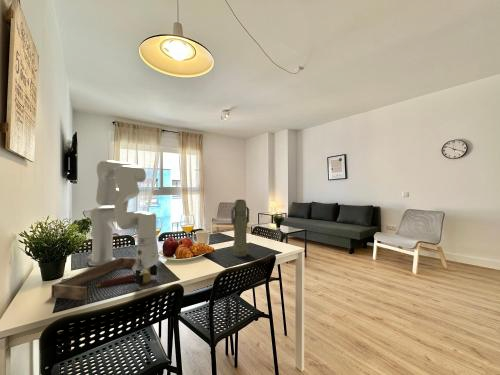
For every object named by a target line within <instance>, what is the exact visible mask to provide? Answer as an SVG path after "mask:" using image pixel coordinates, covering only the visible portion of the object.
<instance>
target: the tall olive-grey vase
mask: <svg viewBox="0 0 500 375" xmlns="http://www.w3.org/2000/svg"><path fill="white" fill-rule="evenodd" d="M230 210H231V213H230V216H231V217H230V218H231V219H230V221H231V222H230V223H231V224H232V225H233V226H232V227H233V232H234V233H233V244H232V246H233V248H232V250H233V256H234V257H238V258H241V257H242V258H243V257H246V256H248V243H247V230H248V229H247V228H248V224H249V222H250V208H249V207H248V206H247V203H246V200H245V199H236V200H235V201H234V206H233V207H231V209H230Z"/></svg>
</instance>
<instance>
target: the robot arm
mask: <svg viewBox="0 0 500 375" xmlns="http://www.w3.org/2000/svg"><path fill="white" fill-rule="evenodd" d="M96 174H97V179H98V182H97V183H98V184H97V190H96V198H95V201H96V203H97V204H98V205H99V206H97V207H94V208H93V209H92V210H91V211H90V213H89V215H90V217H89V218H90V221H91V230H92V231H91V232H92V234H91V236H92V237H91V238H92V248H91V253H90V254H89V255H87V259H90V261H88V266H92V267H98V266H100V265H103V264H105V263H107V262H110V261H112V260H115V259H117V258H116V257H114V256H113V240H114V239H113V229H112V227H111V226H110V225H109V224H110V223H116V224H117V227H118V228H119V229H121V230H132V229H137V247H136V253H135V258H136V263H135V264H134V266H133V267H131V269H132V271H133V272H132V273H133V274H135V275H136V279H135V284H136V285H141V286H142V285H144V283H143V275H142V274H143V271H144V269H148V268H149V273H150V276H157V275H158V265H159V264H158V263H159V259H160V254H159V248H158V247H159V246H158V241H157V214H156V213H155V212H149V211H145V210H141V211H139V210H138V211H128V207H129V200H131V199H135V198H136V197H137V196H138V195H140V188H139V185H138V183H143V182H145V181H146V179H147V172H146V170H145V169H144V168H143V167H142V166H140V165H138V164H135V163H133V162H127V161H118V160H100V161H99V162H98V163H97V166H96ZM139 269H141V271H139Z"/></svg>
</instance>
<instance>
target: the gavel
mask: <svg viewBox="0 0 500 375" xmlns="http://www.w3.org/2000/svg"><path fill="white" fill-rule="evenodd" d="M139 271H141V269H139ZM142 275H143V284H146V283H149V282H150V280H151V279H152V278H151V276H152V275H150V268H148V269H144V271H143V274H142ZM131 281H136V275H135V274H134V273H133V274H130V275H125V276H121V277H116V278H112V279H107V280H103V281H101V282H99V283H98V284H95V288H98V287H99V288H105V287H111V286H115V285H118V284H119V285H120V284H123V283H127V282H128V283H129V282H131Z"/></svg>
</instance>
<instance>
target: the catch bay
mask: <svg viewBox="0 0 500 375" xmlns="http://www.w3.org/2000/svg"><path fill="white" fill-rule="evenodd" d="M135 263H136V257H126V256H123V257H122V256H120V257H118V258H116V259H115V260H112V261H110V262H107V263H105V264H103V265H100V266H94V268H91V269H88V270H86V271H83V272H81V273H78V274H75V275H73V276H70V277H68V278H66V279H63V280H60V281H58V282H55V283H53V284H51V290H50V291H51V293H50V294H51V298H58V299H66V300H67V299H69V300H77V301H86V300H87V299H88V286H82V285H83V284H85V283H88V282H90V281H92V280H94V279H97V278H99V277H100V276H103V275H106V274H107V273H110V272H113V271H114V270H116V269H118V268H120V267H127V268H132V267H133V266H134V264H135Z"/></svg>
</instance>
